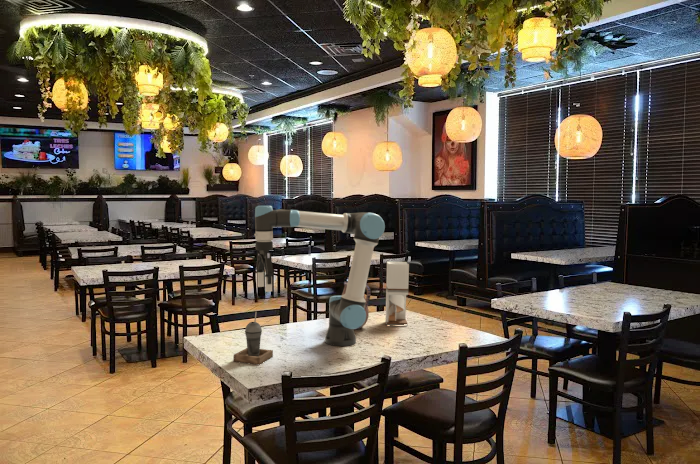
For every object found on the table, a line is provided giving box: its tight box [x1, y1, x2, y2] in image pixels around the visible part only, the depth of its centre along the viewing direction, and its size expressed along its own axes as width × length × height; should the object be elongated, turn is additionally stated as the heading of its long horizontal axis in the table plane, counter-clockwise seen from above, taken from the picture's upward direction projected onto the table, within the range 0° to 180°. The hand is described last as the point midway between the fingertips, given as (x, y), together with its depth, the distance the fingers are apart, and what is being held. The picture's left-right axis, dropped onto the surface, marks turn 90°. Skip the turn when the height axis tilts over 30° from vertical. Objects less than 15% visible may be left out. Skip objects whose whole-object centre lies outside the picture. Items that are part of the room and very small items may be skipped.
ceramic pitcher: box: [340, 280, 372, 330], centre depth 295 cm, size 18×21×25 cm
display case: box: [385, 261, 410, 326], centre depth 306 cm, size 11×11×35 cm
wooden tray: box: [232, 347, 274, 366], centre depth 234 cm, size 12×12×3 cm
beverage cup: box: [244, 311, 263, 357], centre depth 233 cm, size 7×7×20 cm
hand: (264, 289), depth 238 cm, fingers open, 13 cm apart
